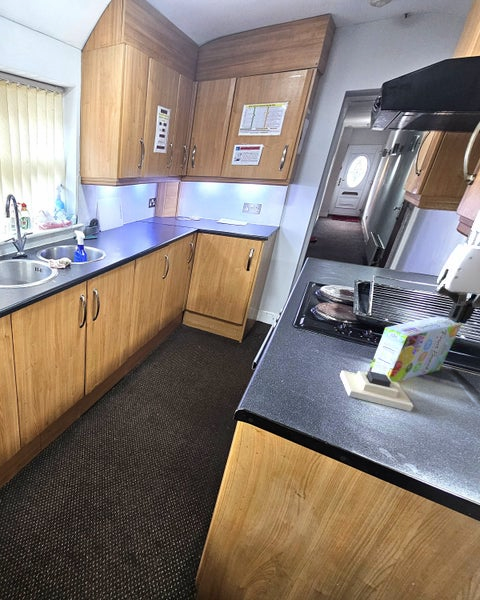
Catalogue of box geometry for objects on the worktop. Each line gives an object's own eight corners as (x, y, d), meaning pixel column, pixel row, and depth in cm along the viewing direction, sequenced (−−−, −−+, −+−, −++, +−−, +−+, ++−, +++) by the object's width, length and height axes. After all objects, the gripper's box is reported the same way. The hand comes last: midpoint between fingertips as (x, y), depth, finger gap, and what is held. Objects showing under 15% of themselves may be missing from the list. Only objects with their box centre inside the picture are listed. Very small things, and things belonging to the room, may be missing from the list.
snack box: (416, 360, 97) (438, 314, 91) (440, 371, 92) (465, 323, 86) (365, 373, 91) (384, 326, 85) (387, 385, 86) (410, 336, 80)
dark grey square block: (383, 380, 83) (386, 374, 83) (388, 388, 80) (391, 382, 80) (365, 376, 85) (368, 370, 84) (370, 384, 82) (372, 378, 81)
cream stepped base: (395, 388, 85) (400, 376, 84) (410, 411, 77) (417, 399, 76) (339, 375, 90) (343, 364, 89) (348, 396, 82) (353, 384, 80)
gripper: (533, 240, 68) (492, 320, 74) (436, 235, 74) (407, 309, 81) (562, 248, 61) (515, 334, 68) (454, 241, 67) (420, 321, 74)
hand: (456, 320), depth 74 cm, fingers closed
